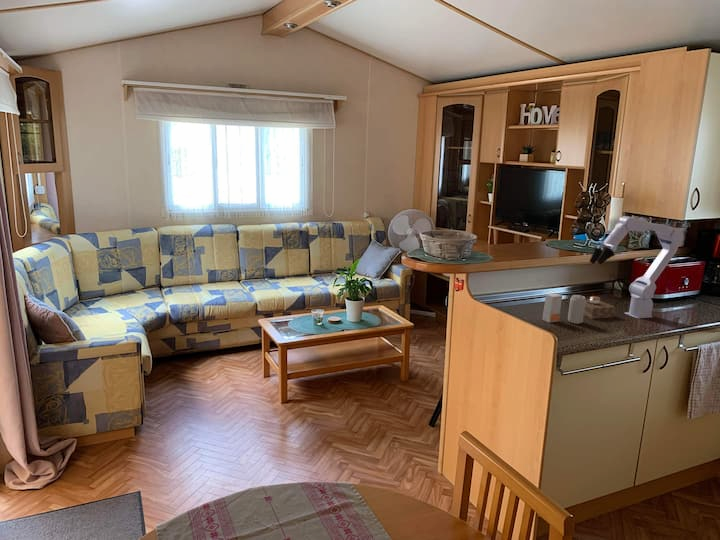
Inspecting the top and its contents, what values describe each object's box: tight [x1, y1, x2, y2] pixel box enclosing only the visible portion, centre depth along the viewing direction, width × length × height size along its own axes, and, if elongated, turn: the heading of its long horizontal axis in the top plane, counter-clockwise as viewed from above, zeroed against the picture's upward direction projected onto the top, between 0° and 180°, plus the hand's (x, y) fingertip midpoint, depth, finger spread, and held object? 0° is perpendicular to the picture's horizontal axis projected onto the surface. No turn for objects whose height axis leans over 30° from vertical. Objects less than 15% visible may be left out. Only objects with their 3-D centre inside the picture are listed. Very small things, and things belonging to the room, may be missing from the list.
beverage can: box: [567, 294, 587, 325], centre depth 245 cm, size 6×6×12 cm
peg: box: [589, 295, 601, 305], centre depth 259 cm, size 4×4×4 cm
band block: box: [584, 298, 616, 320], centre depth 260 cm, size 13×13×5 cm
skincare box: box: [541, 293, 563, 323], centre depth 245 cm, size 6×4×12 cm
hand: (595, 262), depth 248 cm, fingers open, 7 cm apart
